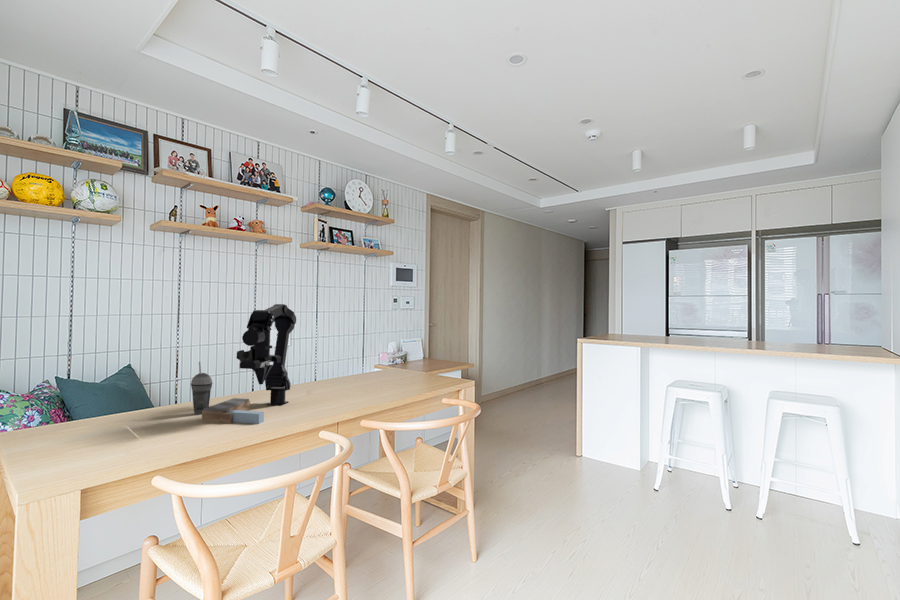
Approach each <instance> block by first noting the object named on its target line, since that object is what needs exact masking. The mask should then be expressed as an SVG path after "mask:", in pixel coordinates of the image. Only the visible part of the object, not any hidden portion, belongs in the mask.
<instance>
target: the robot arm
mask: <svg viewBox="0 0 900 600" xmlns="http://www.w3.org/2000/svg"><path fill="white" fill-rule="evenodd" d="M273 324H274V327H275V329H276V331H277V336H276V340H275V341H276V343H275V348H274V354H270V353H271V352H270V351H271V350H270V349H273V345H271V331H272V328H271V327H272V325H273ZM296 324H297V316H296V314H295V312H294V311H293V310H292V309H290V308H289V307H288V305H287V304H284V303H282V304H281V303H280V304H279V303H277V304H273V305H272V306H269V307H267V308H266V309H254V310H252V313H251V314H250V317H249V319H248V322H247V324H246V329H248V330H246V331H244V333H243V335H242V337H241V339H242V343H244V344H245V345H246V346H248V347H250V349H249V350H247V351H245V350H243V349H241V350H238V351H236V359H237V360H239V369H246V370H253V372H254V373H255V376H256V379H257V382H258V385H264V384H265V390H266V391H270V398H269V399H270V400H269V401H270V402H269V403H267V404H266V405H267V406H275V407H282V406H284V405H286V404H288V403H290V402H289V401H286V391H290V390H291V385H292V383H291V381H290V379H289V377H288V374H289V373H288V371H287V369H286V367H285V366H286V359H287V351H288V344H289V338H290V334H291V333H292V332H293V330H294V328H295V325H296ZM271 363H272V364H271Z"/></svg>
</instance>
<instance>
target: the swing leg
mask: <svg viewBox="0 0 900 600" xmlns="http://www.w3.org/2000/svg"><path fill="white" fill-rule="evenodd" d="M226 413H233V417H232V423H237V424H238V423H241V424H253V425H255V424H256V425H258V424H262V423H264V422H265V411H260V410H259V411H257V410H249V411H243V410H228V411H226Z"/></svg>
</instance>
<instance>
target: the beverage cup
mask: <svg viewBox="0 0 900 600" xmlns="http://www.w3.org/2000/svg"><path fill="white" fill-rule="evenodd" d="M201 364H202V363H201V361H198V368H199V369H198V370H199V371H198V372H199V373H197V374H196V375H194V376H193V377H192V379H191V382H190V387H191V393H192V403H193V405H192V407H193V414H194V415H196V416H199V415H200V416H202V411H203V409H204V408H207V407H210V400H211V399H210V398H211V393H212V391H211V390H212V386H213V380H212V377H211V376H210V375H209V374H208V373H205V372H202V366H201Z"/></svg>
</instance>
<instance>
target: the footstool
mask: <svg viewBox="0 0 900 600" xmlns="http://www.w3.org/2000/svg"><path fill="white" fill-rule="evenodd" d="M228 410H243V411H251V400H250V399H249V398H243V397H242V398H240V397H232V398H230V399H227V400H224V401H222V402H220V403H219V402H218V403H216V404H213V405H209V407H207V408H204V409H203V411H202V415H201V422H202V423H214V424H215V423H217V424H233V422H232V417H233V413H226V411H228Z"/></svg>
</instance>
